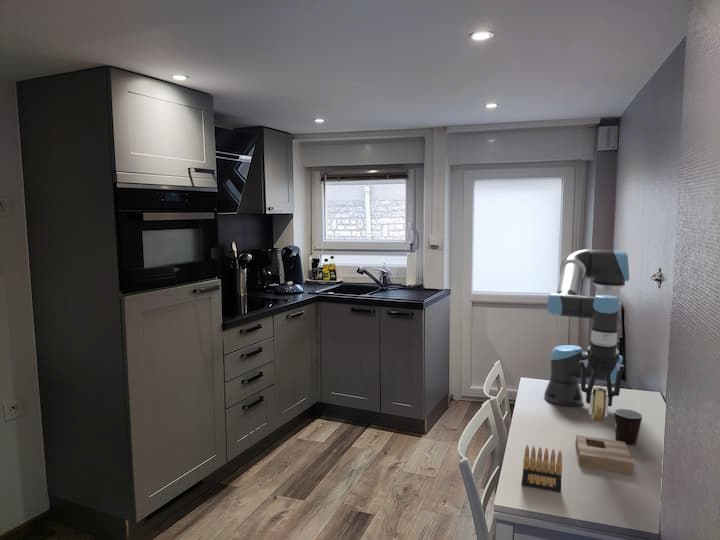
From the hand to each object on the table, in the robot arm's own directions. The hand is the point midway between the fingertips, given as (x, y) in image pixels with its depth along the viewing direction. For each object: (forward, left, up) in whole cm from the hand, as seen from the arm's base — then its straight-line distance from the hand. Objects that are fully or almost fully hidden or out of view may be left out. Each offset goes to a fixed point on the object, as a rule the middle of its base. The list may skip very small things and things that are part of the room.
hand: (597, 414), depth 166 cm
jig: (+2, +2, -14) cm, 14 cm away
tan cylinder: (0, 0, -2) cm, 2 cm away
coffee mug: (-15, +11, -14) cm, 23 cm away
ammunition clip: (+27, -17, -14) cm, 35 cm away
